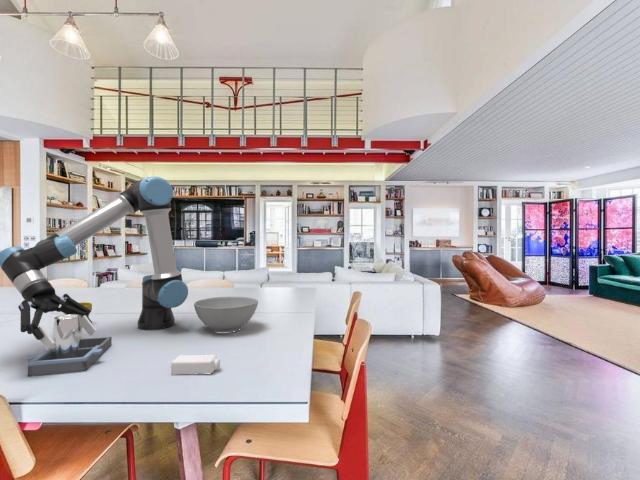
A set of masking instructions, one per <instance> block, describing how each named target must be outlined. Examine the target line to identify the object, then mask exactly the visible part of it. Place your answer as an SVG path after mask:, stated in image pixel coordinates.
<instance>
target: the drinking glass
mask: <svg viewBox="0 0 640 480" xmlns="http://www.w3.org/2000/svg"><path fill="white" fill-rule="evenodd" d="M52 329H53V330H52V331H53V332H52V334H53V335H52V338H53V341H54V342H55V343H54V346H55V347H54V348H56V359H67V358H78V349H80V348H79V343H80V339H82V333H83V332H82V331H83V327H82V320H81V315H80V314H68V315H65V314H63V315H57V316H55V317H54V321H53V327H52Z"/></svg>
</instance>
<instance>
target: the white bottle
mask: <svg viewBox="0 0 640 480" xmlns="http://www.w3.org/2000/svg"><path fill="white" fill-rule="evenodd" d="M220 366H221V360H220V359H219V358H218V357H217V354H184V355H177V356H176V357H174V359H173V360H172V361H171V367H170V369H171V370H170V374H171V376H173V375H172V374H190V375H196V374H195V373H212V372H213V373H214V371H218V370H220ZM213 373H212V374H213Z"/></svg>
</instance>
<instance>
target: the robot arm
mask: <svg viewBox="0 0 640 480" xmlns="http://www.w3.org/2000/svg"><path fill="white" fill-rule="evenodd" d="M173 196H174V191H173V187H172V185H171V184H170V182H168V181H167V180H166V179H165V178H163V177H160V176H147V177H145V178H143V179H140V180H137V181H136V182H134V183H133V184H132V185H130V186H129V187H127V188H125V190H123V191H121V192H120V193H118V194H117V195H116V197H115V199H113V200H111V201H110V202H107V203H106V204H104V205H103V206H101V207H99V208H97V209H95V210H94V211H92V212H90V213H89V214H87V215H85V216H83V217H82V218H79V219H78V220H76V221H74V222H73V223H70V224H69V225H67V226H65V227H64V228H62V229H60V230H58V231H57V232H55V233H53V234H52V235H50V236H48V237H46V238H45V239H41V240H40V241H38V242H37V243H36V244H35V245H34V246H33V247H29V248H26V249H25V248H24V247H23V246H19V245H14V246H9V247H6V248H4V249H2V250H0V269H1V270H2V271H3V273H4V274H5V275H6V277H7V278H8V279H9V280H10V282H11V283H12V285H13V286H14V287H15V289H16V290H17V291H18V292H19V294H20V295H21V297H22V299H23V300H22V301H21V303H20V304H19V305H17V308H18V310H19V311H20V332H21V333H27V334H28V335H33V337H34V338H35V339H36V340H37V341H40V342H41V344H42V345H43V346H44V348H45V350H48V349H52V347H53V345H55V342H54V338H53V337H52V336H51V335H50V334H49V332H48V331H47V330H46V329H45V327H44V326H43V325H40V322H41V319H42V317H43V314H48V313H51V312H52V313H53V312H57V313H60V312H61V313H63V314H64V313H66V314H80V315H81V320H82V329H84V331H85V332H86V333H87V334H88V336H89V337H92V336H93V335H94V334H95V333H96V331H97V329H96V327H95V326H94V325H93V321H92V319H90V314H91V312H92V311H91V310H89V309H88V308H86V307H84V306H83V305H81V304H80V302H78V301H77V300H75V299H73V298H72V297H71V296H70V295H69V294H68V293H64V294H63V295H61V296H59V295H57V293H56V290H55V288H54V287H53V285H52V283H50V282H49V280H48V278H47V277H46V275H44V273H43V272H42V269H45V268H47V267H48V266H50V265H54V264H56V263H57V262H58V263H59V262H60V261H62V260H63V261H64V260H65V259H68V258H70V257H72V256H74V255H75V254H77V253H78V250H77V247H76V246H79V245H80V244H82V243H83V242H84V241H86V240H87V239H89V238H91V237H93V236H95V235H96V234H97V233H99V232H101V231H103V230H104V229H107V228H108V227H109V226H111V225H112V224H114V223H116V222H117V221H120V219H122V218H124V217H126V216H127V215H129V214H130V215H133V214H135V213H137V212H140V214H143V216H144V219H145V224H146V225H145V226H146V230H147V235H148V236H147V237H148V241H149V249H150V255H151V261H152V266H153V271H154V273H153V274H148V275H145V276H143V277H142V282H141V286H142V287H141V292H142V293H141V294H142V295H141V298H142V299H141V301H142V302H141V312H140V315H139V317H138V319H137V326H136V327H137V329H138V330H148V331H149V330H151V331H152V330H161V329H166V328H170V327H173V326H174V325H175V324H176V322H175V321H176V319H175V316H174V313H173V310H172V308H173V309H174V308H178V307H180V306H182V305H183V303H185V301H186V300H187V298H188V295H189V288H188V286H187V284H186V283H185V281H184V280H183V275H182V272H181V271H180V270H178V269H177V268H178V267H177V263H176V262H177V261H176V255H175V250H174V249H175V248H174V242H173V236H172V231H171V226H170V225H171V224H170V217H169V213H170V211H171V210H172V204H171V201H172V199H173ZM31 309H34V315H33V318H32V321H31ZM88 315H89V317H88ZM39 325H40V326H39Z"/></svg>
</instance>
